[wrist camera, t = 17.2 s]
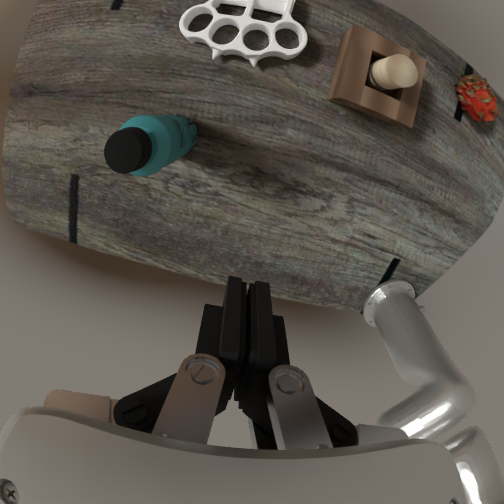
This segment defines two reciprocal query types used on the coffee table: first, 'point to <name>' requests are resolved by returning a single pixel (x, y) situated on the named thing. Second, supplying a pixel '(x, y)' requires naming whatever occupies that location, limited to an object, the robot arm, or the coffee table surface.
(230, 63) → the coffee table surface
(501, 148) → the coffee table surface
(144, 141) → the beverage bottle
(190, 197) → the coffee table surface
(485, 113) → the dragon fruit
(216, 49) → the knuckle duster
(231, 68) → the coffee table surface
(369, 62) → the socket block
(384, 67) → the peg
